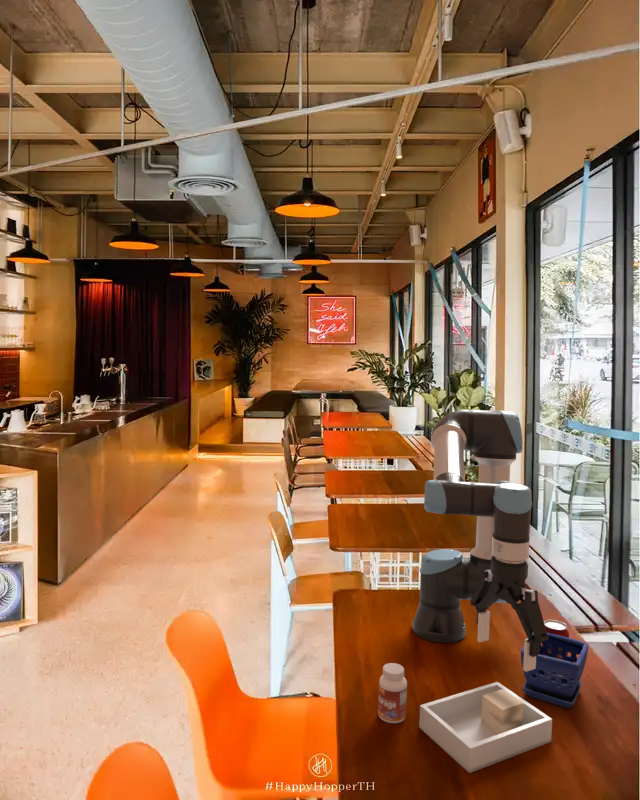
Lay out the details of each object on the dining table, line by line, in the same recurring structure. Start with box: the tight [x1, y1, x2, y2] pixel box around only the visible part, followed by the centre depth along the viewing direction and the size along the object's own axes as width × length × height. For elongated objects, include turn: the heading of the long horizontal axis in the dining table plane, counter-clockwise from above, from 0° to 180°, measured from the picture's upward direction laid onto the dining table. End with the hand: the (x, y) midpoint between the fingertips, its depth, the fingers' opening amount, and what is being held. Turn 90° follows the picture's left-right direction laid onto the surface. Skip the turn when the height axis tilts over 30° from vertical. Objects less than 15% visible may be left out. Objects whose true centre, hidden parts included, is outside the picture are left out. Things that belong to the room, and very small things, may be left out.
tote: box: [418, 681, 553, 774], centre depth 130 cm, size 16×22×5 cm
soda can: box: [541, 619, 570, 660], centre depth 157 cm, size 7×7×12 cm
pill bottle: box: [377, 662, 408, 724], centre depth 136 cm, size 6×6×11 cm
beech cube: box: [481, 689, 523, 735], centre depth 132 cm, size 6×6×6 cm
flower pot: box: [520, 633, 589, 709], centre depth 146 cm, size 13×13×12 cm
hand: (505, 654), depth 131 cm, fingers open, 13 cm apart
